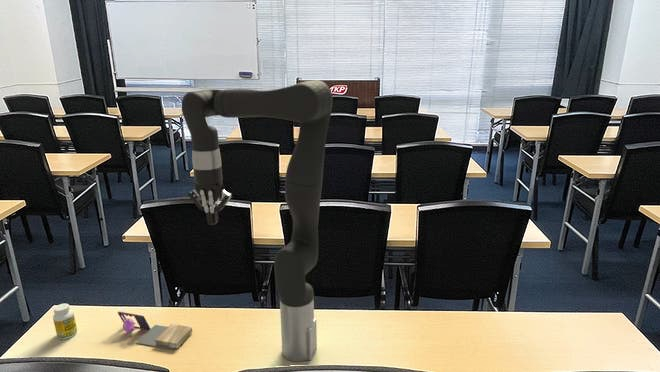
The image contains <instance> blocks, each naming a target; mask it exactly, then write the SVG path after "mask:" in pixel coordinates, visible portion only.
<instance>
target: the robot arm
mask: <svg viewBox="0 0 660 372" xmlns="http://www.w3.org/2000/svg"><path fill="white" fill-rule="evenodd" d="M333 101H334V99H333V94H332V91H331V89H330V87H329V86H328V84H326V82H324V81H322V80H319V79H313V80H311V79H310V80H306V81H300V82H298V83H295V84H293V85H290V86H287V87H282V88H278V89H271V90H260V89H249V88H231V89H201V90H194V91H189V92H187V93H185V95H183V97H182V101H181V107H180V108H181V112H182V117H183V118H184V121H185V124H186V126H187V129H188V131H189V133H190V139H191V141H190V142H191V150H192V156H191V159H192V169H193V171H192V172H193V179H194V183H195V185H194V187H193V188H194V189H192V190H191V191H189V192H188V193H187V196H188V197H189V199H191V201H192V202H193V204H194V205H195V206H196V207H197V208H198V210H200V211H203V212H205V215H206V216H205V217H206V222H207V223H208V225H209V226H215V225H216V224H217V223H218V222H219V215H218V214H219V212H220V211H222V210H223V209H224V208H225V207H226V205H227V204H228V202H229V201H230V199H231V198H232V197H233V193H232V192H228V191H226V190H225V186H224V183H223V180H224V178H223V168H222V157H221V156H222V155H221V152H220V151H221V150H220V143H219V133H218V129H217V128H216V127H214V126H211V125H208V122H207V118H208V117H209V118H210V117H214V116H215V117H216V116H217V117H218V116H220V117H223V118H235V119H236V118H237V119H238V118H273V119H280V120H285V121H292V122H297V123H299V130H298V138H297V141H296V144H295V147H294V149H293V151H292V154H291V157H290V158H289V161H288V164H287V167H286V173H285V180H284V182H285V183H284V184H285V185H284V200H285V202H286V205H287V207H288V209H289V212H290V215H291V218H292V233H291V234H292V235H291V240H290V241H289V242H288V244H285V246H283V247H282V248H281V249H279V250H278V251H277V252H276V254H275V255H274V259H273V260H274V261H273V269H274V277H275V278H274V279H275V287H276V290H277V293H278V295H279V308H280V310H279V312H280V314H279V315H280V332H281V333H280V335H281V336H280V337H281V351H282V352H281V353H282V356H283V357H284V358H285V359H286V360H288V361H292V362H303V361H312V359H313V356H314V355H315V352H316V350H317V347H318V344H317V343H318V342H317V341H318V338H317V337H318V336H317V334H318V332H317V318H315V308H314V307H315V303H314V302H315V301H314V300H315V299H314V296H315V295H314V293H315V292H314V288H313V285H311V284H310V283H308V282H306V275H307V274H308V273H309V272H311V271H312V269H314V267H315V266H316V265H317V263H318V260H319V259H318V258H319V218H320V207H321V198H322V190H323V178H324V176H323V175H324V163H325V155H326V141H327V135H328V130H329V125H330V121H331V120H330V119H331V115H332V110H333V104H334V103H333ZM220 198H221V200H220Z"/></svg>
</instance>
